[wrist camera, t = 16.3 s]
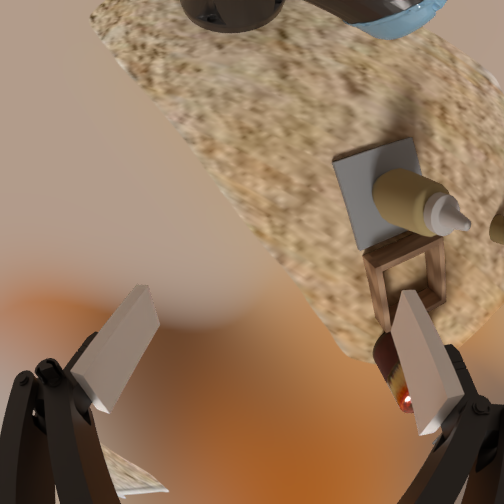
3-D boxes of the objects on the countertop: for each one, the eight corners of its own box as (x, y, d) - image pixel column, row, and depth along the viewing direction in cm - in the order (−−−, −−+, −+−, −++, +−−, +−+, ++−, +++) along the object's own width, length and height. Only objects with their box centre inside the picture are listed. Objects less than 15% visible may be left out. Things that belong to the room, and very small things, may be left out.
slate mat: (331, 162, 38) (333, 162, 37) (408, 137, 36) (412, 137, 35) (357, 248, 42) (359, 250, 41) (427, 218, 41) (430, 220, 40)
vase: (411, 313, 47) (467, 382, 28) (421, 344, 51) (468, 409, 32) (365, 343, 49) (407, 424, 30) (380, 372, 53) (417, 443, 33)
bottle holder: (362, 255, 43) (375, 268, 38) (426, 227, 41) (442, 236, 37) (375, 317, 47) (386, 333, 42) (432, 289, 46) (446, 302, 41)
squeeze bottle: (356, 177, 37) (431, 203, 21) (400, 158, 36) (484, 173, 20) (374, 227, 40) (444, 277, 23) (414, 206, 39) (493, 243, 22)
